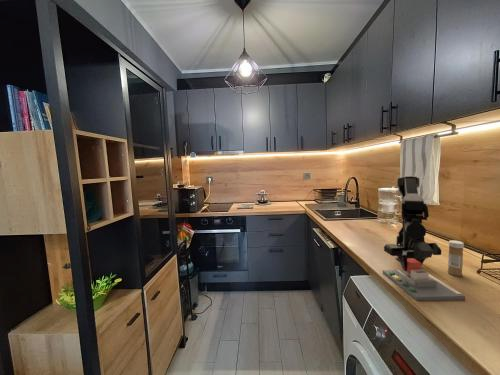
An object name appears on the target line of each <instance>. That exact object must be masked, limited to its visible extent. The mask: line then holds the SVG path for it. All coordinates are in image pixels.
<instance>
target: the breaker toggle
mask: <svg viewBox="0 0 500 375" xmlns="http://www.w3.org/2000/svg"><path fill="white" fill-rule="evenodd" d="M429 274H430V273H429V272H427V270H425V269H423V268H421V269H418V270H411V279H412V280H414V281H415V280H428V275H429Z"/></svg>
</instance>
